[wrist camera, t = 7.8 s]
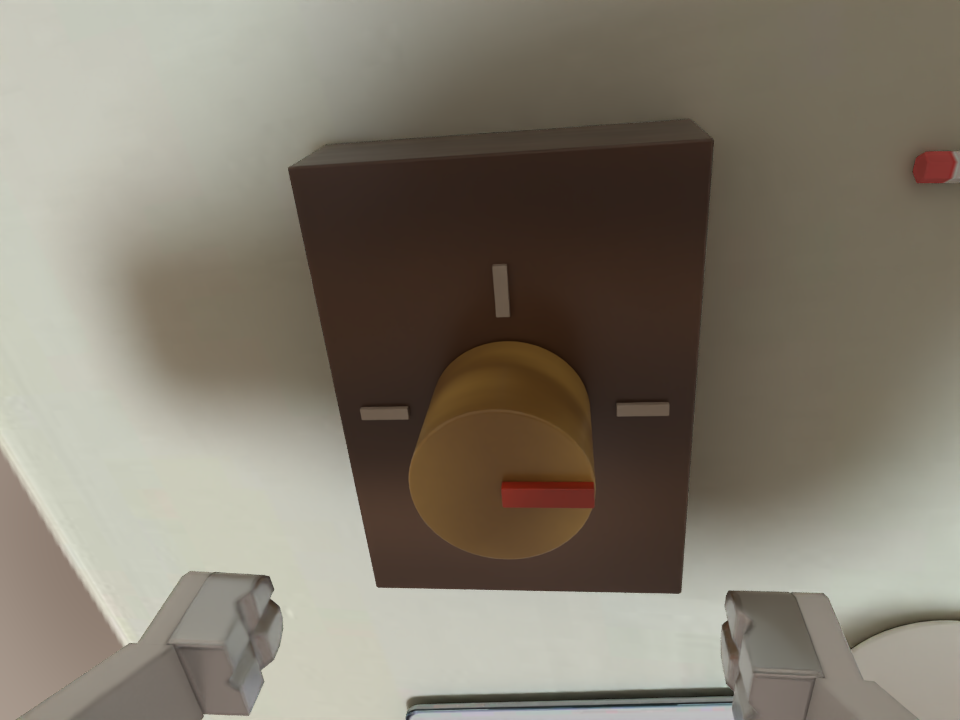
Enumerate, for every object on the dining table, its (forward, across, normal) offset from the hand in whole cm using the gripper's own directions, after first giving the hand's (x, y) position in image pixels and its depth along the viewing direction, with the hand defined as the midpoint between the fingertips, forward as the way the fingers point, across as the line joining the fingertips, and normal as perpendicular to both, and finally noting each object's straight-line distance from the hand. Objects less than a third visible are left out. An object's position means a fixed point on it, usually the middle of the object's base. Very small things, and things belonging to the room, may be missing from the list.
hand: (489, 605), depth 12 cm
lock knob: (+7, 0, +1) cm, 7 cm away
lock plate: (+10, 0, +1) cm, 11 cm away
